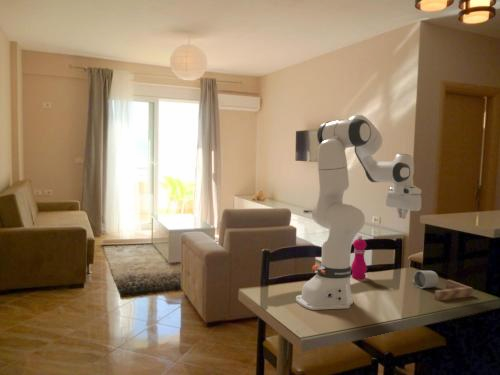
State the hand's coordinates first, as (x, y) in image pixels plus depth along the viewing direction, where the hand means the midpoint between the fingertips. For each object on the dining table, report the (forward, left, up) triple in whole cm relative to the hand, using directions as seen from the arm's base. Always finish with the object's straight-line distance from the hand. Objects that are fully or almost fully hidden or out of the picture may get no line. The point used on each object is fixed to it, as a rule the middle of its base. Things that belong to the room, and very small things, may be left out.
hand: (402, 218), depth 192 cm
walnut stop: (+3, -24, -29) cm, 38 cm away
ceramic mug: (+2, -13, -29) cm, 32 cm away
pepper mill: (-18, +7, -29) cm, 35 cm away
